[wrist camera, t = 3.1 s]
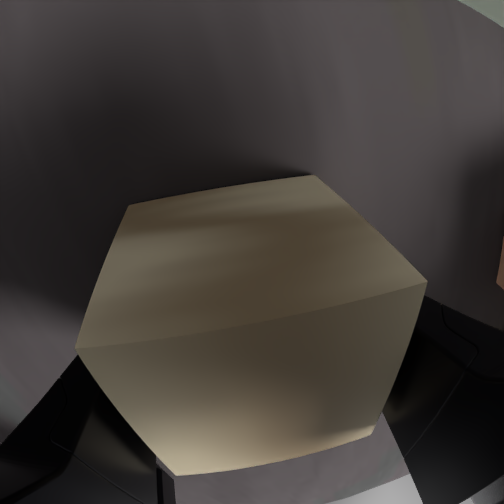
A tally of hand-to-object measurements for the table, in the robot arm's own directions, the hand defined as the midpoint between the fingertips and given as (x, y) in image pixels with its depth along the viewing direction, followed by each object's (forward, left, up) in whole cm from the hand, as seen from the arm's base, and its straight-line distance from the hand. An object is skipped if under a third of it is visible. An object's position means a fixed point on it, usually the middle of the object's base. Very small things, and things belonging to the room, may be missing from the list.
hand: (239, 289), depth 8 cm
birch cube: (0, 0, -1) cm, 1 cm away
